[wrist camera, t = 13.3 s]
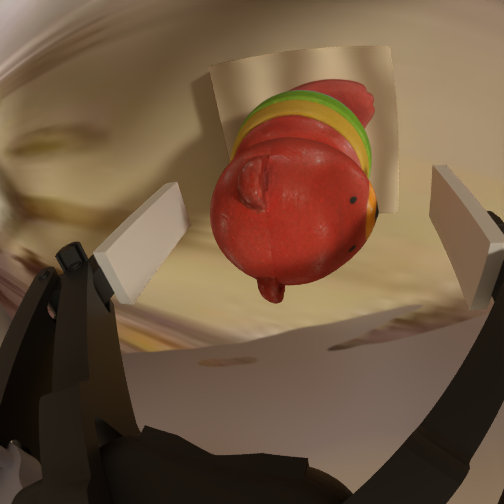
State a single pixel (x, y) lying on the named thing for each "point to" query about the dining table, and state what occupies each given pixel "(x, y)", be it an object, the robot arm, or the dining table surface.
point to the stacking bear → (298, 186)
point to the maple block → (313, 69)
